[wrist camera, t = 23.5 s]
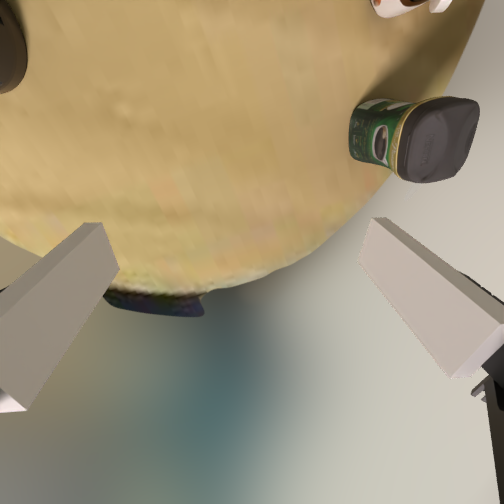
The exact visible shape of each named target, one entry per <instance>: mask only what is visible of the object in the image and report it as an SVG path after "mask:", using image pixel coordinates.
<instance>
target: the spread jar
mask: <svg viewBox="0 0 504 504" xmlns="http://www.w3.org/2000/svg"><path fill="white" fill-rule="evenodd" d="M427 1H429V0H370V3H371V5H372V7H373V9H374V10H375V12H376V13H377V14H378V15H379V16H380V17H384V18H391V17H395V16H398V15H401V14H404V13H406V12H408V11H410V10H412V9H414V8H416V7H418V6H420V5H422V4H424V3H426V2H427ZM451 2H452V0H430V5H429V11H430V13H438V12H443V11H445V10H446V9H447V7H448V6H449V5H450V3H451Z"/></svg>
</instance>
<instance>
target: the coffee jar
mask: <svg viewBox="0 0 504 504" xmlns="http://www.w3.org/2000/svg"><path fill="white" fill-rule="evenodd" d="M479 115H480V108H479V105H478V103H477V102H476V101H474V100H470V99H466V98H456V97H452V96H441V97H434V98H430V99H427V100H424V101H421V102H419V103H410V102H404V101H399V100H394V99H375V100H371V101H367V102H365V103H363V104H361V105H359V106H358V107H357V108H356V109H355V111H354V112H353V114H352V116H351V119H350V126H349V151H350V155H351V156H352V157H353V158H354V159H355V160H358V161H361V162H366V163H372V164H376V165H381V166H384V167H387V168H389V169H391V170H392V171H393V172H394V173H395V174H396V175H397V176H398V177H399V178H401V179H402V180H406V181H411V182H414V183H431V182H437V181H441V180H445V179H448V178H451V177H454V176H455V175H456V173H457V172H458V171H459V170H460V169H461V167H462V166H463V164H464V162H465V161H466V158H467V156H468V153H469V150H470V147H471V144H472V141H473V138H474V135H475V131H476V128H477V124H478V120H479Z"/></svg>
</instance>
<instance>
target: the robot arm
mask: <svg viewBox="0 0 504 504" xmlns="http://www.w3.org/2000/svg"><path fill="white" fill-rule="evenodd" d="M26 64H27V54H26V47H25V42H24V38H23V35H22V32H21V29H20V27H19V24H18V22H17V20H16V18H15V16H14V14H13V12H12V10H11V8H10V6H9V5H8V3H7V2H6V0H0V94H2V93H6V92H9V91H11V90H13V89H14V88H15V87H17V86H18V85H19V83H20V82H21V81H22V79H23V77H24V74H25V71H26ZM357 262H358V263H359V265H360V266H361V267H362V268H363V270H364V271H365V272H366V274H367V275H368V276H369V278H370V279H371V280H372V281H373V283H374V284H375V285H376V286H377V288H378V289H379V290H380V291H381V293H382V294H383V295H384V297H385V298H386V299H387V300H388V302H389V303H390V304H391V305H392V307H393V308H394V309H395V311H396V312H397V313H398V314H399V316H400V317H401V318H402V319H403V321H404V322H405V323H406V325H407V326H408V327H409V328H410V330H411V331H412V332H413V333H414V335H415V336H416V337H417V339H418V340H419V341H420V342H421V344H422V345H423V346H424V347H425V349H426V350H427V351H428V352H429V354H430V355H431V356H432V357H433V359H434V360H435V361H436V363H437V364H438V365H439V366H440V368H441V369H442V370H443V372H444V373H445V374H446V375H447V376H448V378H449V379H451V378H463V377H471V376H472V375H473V374H474V373H475V372H476V371H477V370H478V369H479V368H480V367H482V368H484V370H485V371H486V372H487V373H488V374H489V375H488V376H487V377H486V378H485V379H484V380H482V381H481V382H480V383H479V384H478V385H477V386H476V387H475V388H474V389H473V390H472V392H471V395H472V396H474V397H476V396H477V395H478V394H479V393H480V392H481V391H485V396H484V397H483V398H482V399H481V400H482V401H484V402H486V403H487V410H488V417H489V425H490V432H491V440H492V447H493V454H494V461H495V469H496V477H497V483H498V491H499V499H500V504H504V302H502V301H501V300H499V299H498V298H497V297H496V296H494V295H493V296H492V295H491V293H490V292H489V291H488V290H486V289H485V288H483V287H481V286H480V285H479V284H478V283H477V282H475V281H474V280H473V279H471V278H470V277H469V276H467V275H465V274H463V273H461V272H459V271H457V270H456V269H454V268H453V267H452V266H450V265H449V264H448V263H446V262H445V261H443V260H442V259H441V258H440V257H438V256H437V255H436V254H434V253H433V252H431V251H430V250H429V249H427V248H426V247H425V246H424V245H422V244H421V243H420V242H418V241H417V240H416V239H414V238H413V237H412V236H410V235H409V234H408V233H406V232H405V231H404V230H402V229H401V228H399V227H398V226H397V225H395V224H394V223H393V222H391V221H390V220H389V219H387V218H372V219H371V222H370V225H369V228H368V231H367V234H366V237H365V239H364V243H363V245H362V248H361V251H360V254H359V257H358V260H357ZM119 270H120V268H119V266H118V263H117V261H116V258H115V255H114V253H113V250H112V247H111V245H110V242H109V240H108V237H107V234H106V232H105V229H104V227H103V224H102V222H100V223H84V224H83V225H81V226H80V227H79V228H78V229H77V230H75V231H74V232H73V233H72V234H71V235H69V236H68V237H67V238H66V239H65V240H63V241H62V242H61V243H60V244H59V245H57V246H56V247H55V248H54V249H53V250H51V251H50V252H49V253H48V254H47V255H45V256H44V257H43V258H42V259H41V260H39V261H38V262H37V263H36V264H35V265H33V266H32V267H31V268H30V269H29V270H27V271H26V272H25V273H24V274H23V275H22V276H20V277H19V278H18V279H17V280H15V281H14V282H13V283H12V284H11V285H9V286H7V287H6V288H4V289H2V290H0V413H1V412H13V411H27V410H28V408H29V407H30V405H31V404H32V402H33V401H34V399H35V398H36V396H37V395H38V393H39V392H40V390H41V389H42V387H43V386H44V384H45V382H46V381H47V379H48V378H49V376H50V375H51V373H52V372H53V370H54V369H55V367H56V366H57V364H58V363H59V361H60V360H61V358H62V357H63V355H64V354H65V352H66V350H67V349H68V348H69V346H70V344H71V343H72V341H73V340H74V338H75V337H76V335H77V334H78V332H79V331H80V329H81V328H82V326H83V324H84V323H85V322H86V320H87V318H88V317H89V316H90V314H91V313H92V311H93V309H94V308H95V306H96V305H97V303H98V302H99V300H100V299H101V297H102V296H103V294H104V293H105V291H106V290H107V288H108V287H109V285H110V284H111V282H112V281H113V279H114V278H115V276H116V274H117V273H118V271H119Z"/></svg>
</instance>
